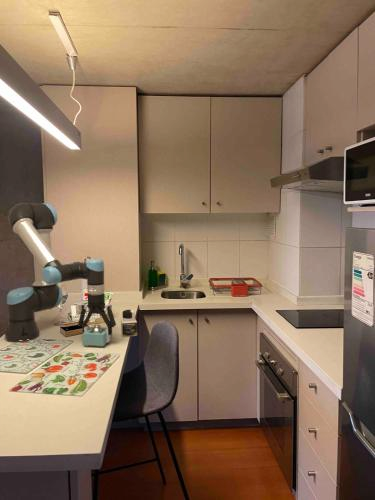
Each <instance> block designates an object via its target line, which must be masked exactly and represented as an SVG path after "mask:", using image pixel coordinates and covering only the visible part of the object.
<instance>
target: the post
mask: <svg viewBox="0 0 375 500" xmlns="http://www.w3.org/2000/svg"><path fill="white" fill-rule="evenodd" d="M92 327H93V333H102V328H103V327H102V326H101V325H100V324H94V325H93V326H92ZM90 346H95V345H88V346H87V347H90ZM103 347H104V346H97V347H96V348H103Z"/></svg>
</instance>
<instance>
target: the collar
mask: <svg viewBox="0 0 375 500" xmlns="http://www.w3.org/2000/svg"><path fill="white" fill-rule="evenodd" d="M93 327H94V326H91V327H89V328H88V330H87V331H85V332H84V333H83V332H82V333H81V338H82V339H81V342H82V343H81V344H82V345H84V346H86V345H95V346H103V347H104V346H106V345H107V344H108V343H107V335H106V328H107V327H102V333H93ZM112 339H113V333H112V334H111V335H110V341H111V340H112ZM106 343H107V344H106Z"/></svg>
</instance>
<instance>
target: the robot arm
mask: <svg viewBox="0 0 375 500" xmlns="http://www.w3.org/2000/svg"><path fill="white" fill-rule="evenodd" d="M8 213H9V214H8V216H7V217H8V224H9V226H10V228H11V230H12V231H13V233H15V234H16V235H17V234H18V236H19V238H21V240H22V241H23V243H24V244H25V245H26V247H27V249H28V250H29V251H30V253H31V254H32V255H33V267H34V281H33V283H32V284H31V285H32V287H31V286H25V287H19V288H14V289H12V290H10V291H8V294H7V296H6V305H7V319H8V321H7V322H8V323H7V326H6V330H5V334H4V337H5V338H4V340H5V339H7V340H10V341H19V340H27V339H31V340H34V339H36V338H39V336H40V329H39V327H38V325H37V322H36V320H35V313H39V312H42V311H46V310H52V309H54V308H56V307H58V306H59V305H60V304H61V303H62V301H63V296H64V295H63V290H62V288H61V286H60V285H59V283H65V282H69V281H74V280H75V281H76V280H81V279H82V280H86V285H87V286H86V287H87V304H86V303H83V304H82V305H81V307H80V308H81V309H80V310H81V311H80V315H79V320H78V322H77V325H78V326H81V327H82V334H83V333H84V332H85V331H87V330H88V329H89V325H88V323H89V322H90V319H91V318H92V316H93V315H95V314H97V315H99V316H100V317H101V318H102V320H103V321H104V323H105V325H106V327H105V328H106V335H107V344H109V343H110V341H111V340H110V335H111V334H112V335H113V328H114V327H116V325H117V323H116V319H115V316H114V314H113V308H112V307H113V306H112V304H109V305H108V304H106V303H105V302H106V297H105V291H106V289H105V265H104V260H103V259H101V258H90V259H88V260H86V262H82V261H81V262H80V261H72V262H70V263H67V264H62V263H61V262H60V260H59V259H58V258H57V256H56V255H55V254H54V253H53V251H52V242H51V241H52V240H51V239H52V238H51V233H52V231H53V230H54V226H55V225H57V222H58V214H57V211H56V209H55V208H54V207H53V205H51V204H50V203H46V202H45V203H44V202H35V203H34V202H20V203H17V204H15V205H14V206H13V207H12V208H11V209H10V211H9V212H8ZM87 309H88V310H89V311H88V313H87ZM105 310H106V311H105ZM106 312H107V314H106ZM86 313H87V315H86ZM85 316H86V317H85ZM33 338H34V339H33ZM7 340H6V341H7ZM10 341H9V342H10ZM27 341H28V340H27Z"/></svg>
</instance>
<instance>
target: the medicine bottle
mask: <svg viewBox="0 0 375 500" xmlns="http://www.w3.org/2000/svg"><path fill="white" fill-rule="evenodd" d="M121 315H122V318H121V319H120V333H121V335H122V337H123V338H125V337H135V336H138V321H137V319H136V311H135V310H133V309H125V310H123V311H122V314H121Z"/></svg>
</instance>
